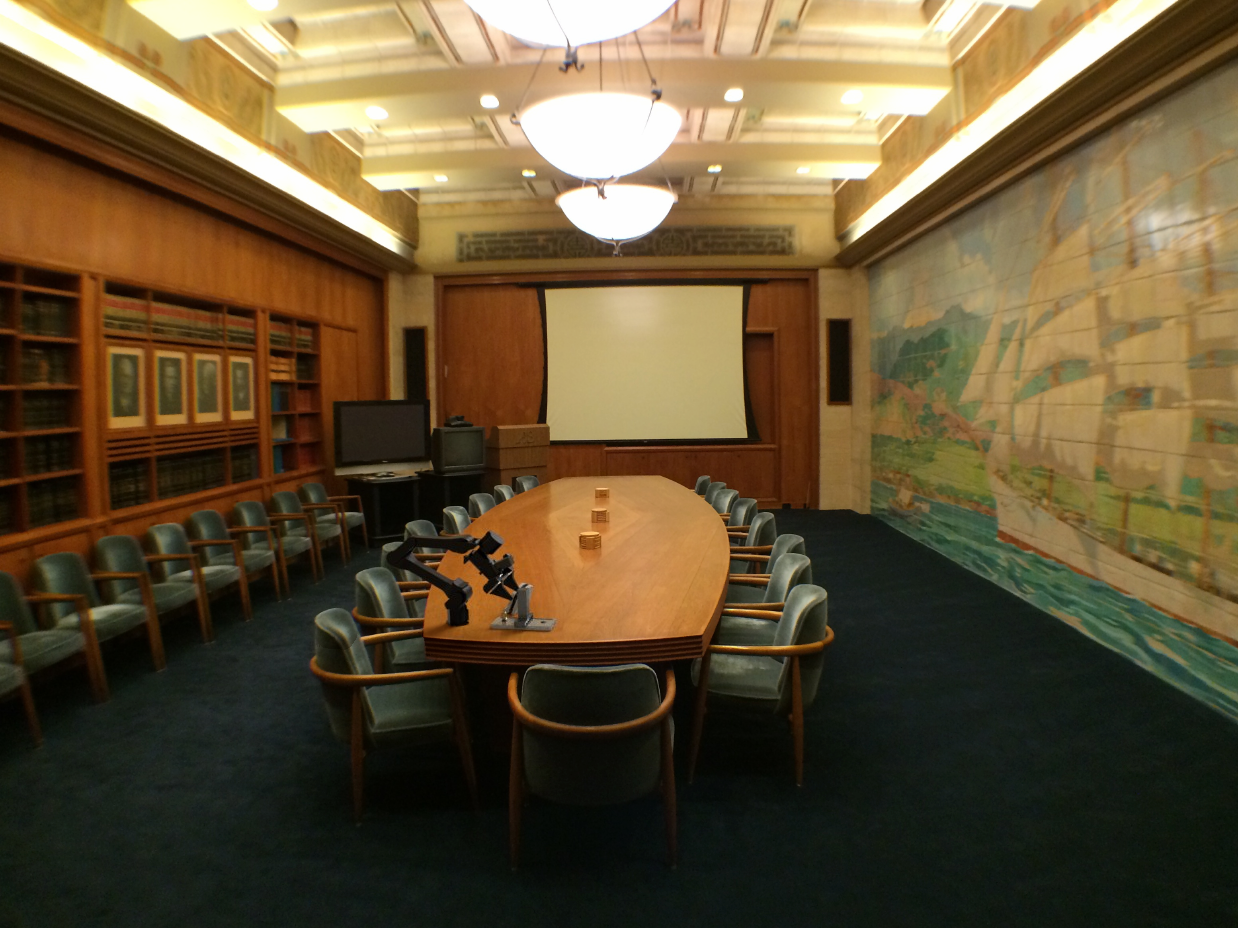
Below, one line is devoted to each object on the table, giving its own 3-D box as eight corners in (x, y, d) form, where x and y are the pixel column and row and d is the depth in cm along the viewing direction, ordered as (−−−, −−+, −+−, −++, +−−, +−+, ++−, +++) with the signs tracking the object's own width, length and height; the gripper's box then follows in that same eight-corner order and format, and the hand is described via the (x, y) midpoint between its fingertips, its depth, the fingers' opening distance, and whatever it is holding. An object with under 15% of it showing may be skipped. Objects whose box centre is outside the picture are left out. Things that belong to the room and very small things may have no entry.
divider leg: (514, 627, 234) (513, 593, 233) (522, 617, 245) (521, 584, 243) (525, 628, 234) (524, 593, 233) (533, 618, 244) (532, 584, 243)
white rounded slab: (517, 600, 268) (524, 577, 267) (528, 604, 268) (536, 581, 266) (501, 614, 252) (509, 589, 250) (513, 619, 251) (521, 594, 250)
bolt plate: (491, 628, 237) (490, 615, 236) (498, 620, 245) (497, 608, 244) (550, 630, 234) (550, 617, 233) (556, 622, 242) (556, 610, 241)
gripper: (490, 554, 228) (524, 587, 228) (507, 541, 247) (538, 572, 246) (468, 577, 230) (501, 610, 230) (487, 563, 249) (518, 593, 248)
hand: (516, 595), depth 239 cm, fingers open, 9 cm apart
